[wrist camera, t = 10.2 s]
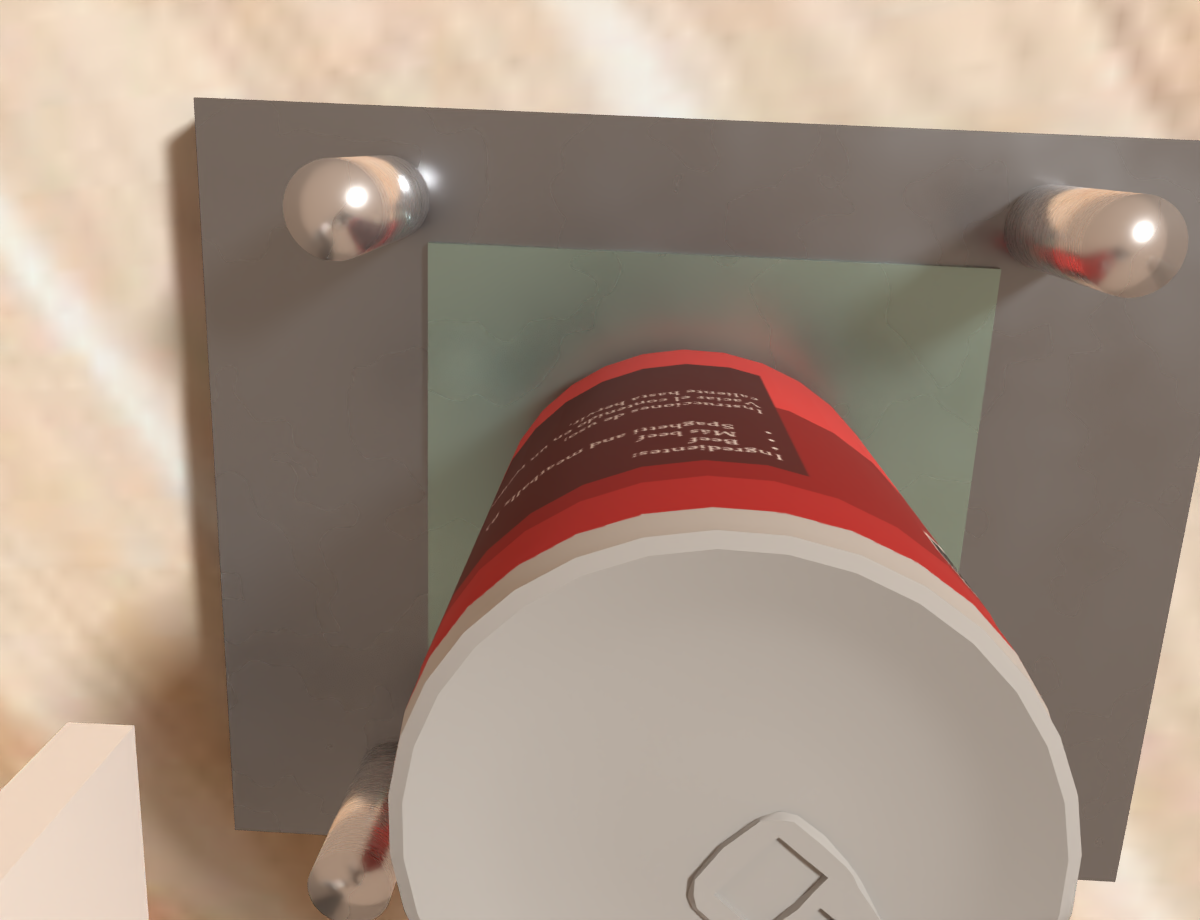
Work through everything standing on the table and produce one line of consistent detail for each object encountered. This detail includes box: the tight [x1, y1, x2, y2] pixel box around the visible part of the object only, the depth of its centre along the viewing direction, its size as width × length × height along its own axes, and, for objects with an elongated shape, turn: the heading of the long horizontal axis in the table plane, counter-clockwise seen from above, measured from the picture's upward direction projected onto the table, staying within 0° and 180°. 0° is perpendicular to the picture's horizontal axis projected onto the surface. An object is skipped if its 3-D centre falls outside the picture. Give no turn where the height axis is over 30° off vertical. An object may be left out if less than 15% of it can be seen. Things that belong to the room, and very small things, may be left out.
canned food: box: [388, 349, 1082, 920], centre depth 18 cm, size 8×8×11 cm
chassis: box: [194, 98, 1200, 920], centre depth 22 cm, size 20×16×6 cm
